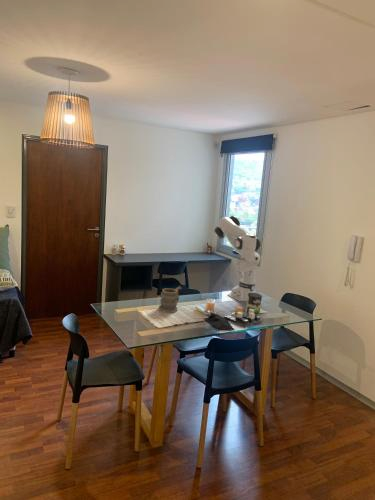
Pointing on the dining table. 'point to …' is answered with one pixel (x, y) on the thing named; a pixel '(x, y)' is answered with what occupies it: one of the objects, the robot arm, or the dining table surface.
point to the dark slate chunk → (219, 322)
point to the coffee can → (253, 303)
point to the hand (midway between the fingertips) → (245, 277)
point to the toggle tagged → (251, 315)
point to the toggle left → (239, 314)
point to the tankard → (169, 300)
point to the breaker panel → (243, 319)
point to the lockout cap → (239, 309)
